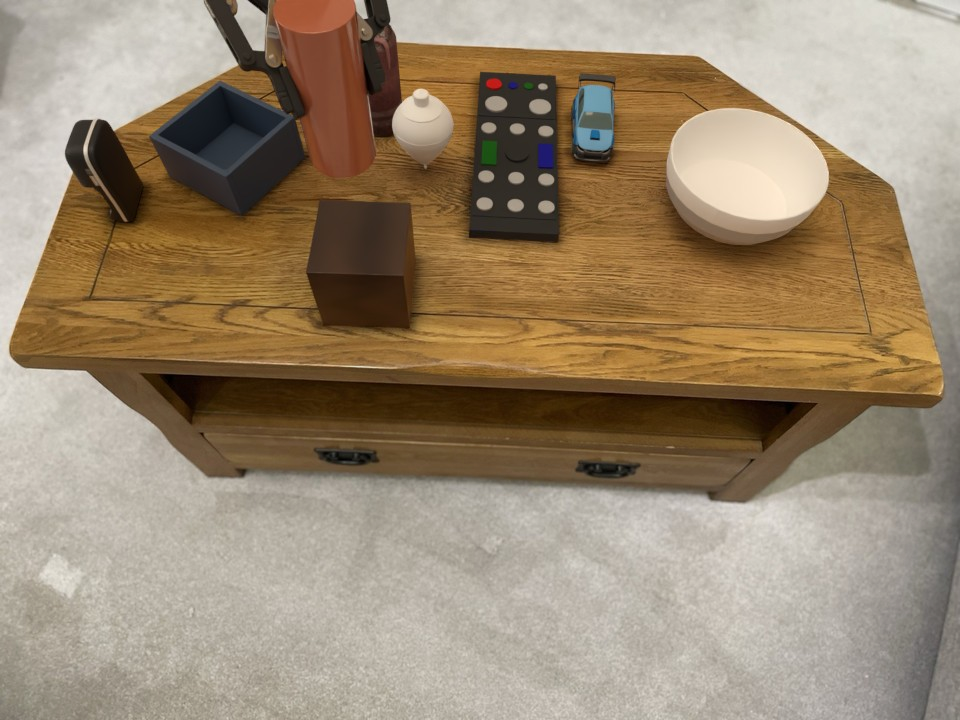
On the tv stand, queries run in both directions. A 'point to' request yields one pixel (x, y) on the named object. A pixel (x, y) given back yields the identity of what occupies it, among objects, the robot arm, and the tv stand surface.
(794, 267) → the tv stand surface
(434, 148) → the spinning top
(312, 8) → the orange cylinder rod
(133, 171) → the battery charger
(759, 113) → the bowl
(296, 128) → the tub
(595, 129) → the toy car
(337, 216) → the stand
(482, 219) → the remote control
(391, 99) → the can
